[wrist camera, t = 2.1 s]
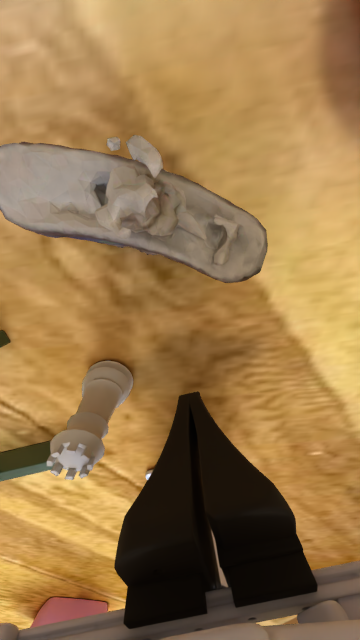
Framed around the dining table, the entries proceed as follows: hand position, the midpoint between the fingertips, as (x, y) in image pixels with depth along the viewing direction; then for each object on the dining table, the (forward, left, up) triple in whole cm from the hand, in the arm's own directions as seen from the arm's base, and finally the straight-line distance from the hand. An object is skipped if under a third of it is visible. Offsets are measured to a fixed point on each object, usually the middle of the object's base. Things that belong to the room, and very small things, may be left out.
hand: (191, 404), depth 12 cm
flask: (+11, 0, -6) cm, 12 cm away
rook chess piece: (0, +8, -6) cm, 10 cm away
